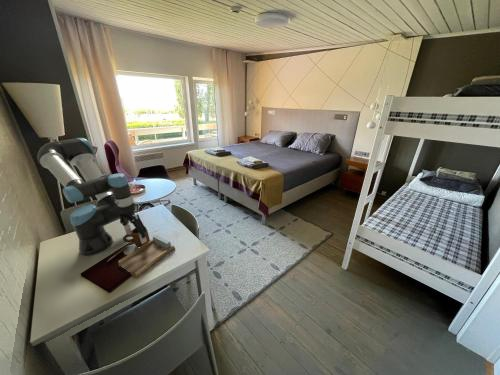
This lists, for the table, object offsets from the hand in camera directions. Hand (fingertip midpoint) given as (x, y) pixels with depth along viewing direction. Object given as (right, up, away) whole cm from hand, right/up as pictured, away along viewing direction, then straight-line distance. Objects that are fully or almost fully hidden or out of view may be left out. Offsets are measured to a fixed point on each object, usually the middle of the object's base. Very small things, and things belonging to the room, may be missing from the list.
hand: (136, 238), depth 111 cm
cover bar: (+14, -4, 0) cm, 14 cm away
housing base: (+9, -8, -6) cm, 14 cm away
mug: (0, -5, +2) cm, 5 cm away
